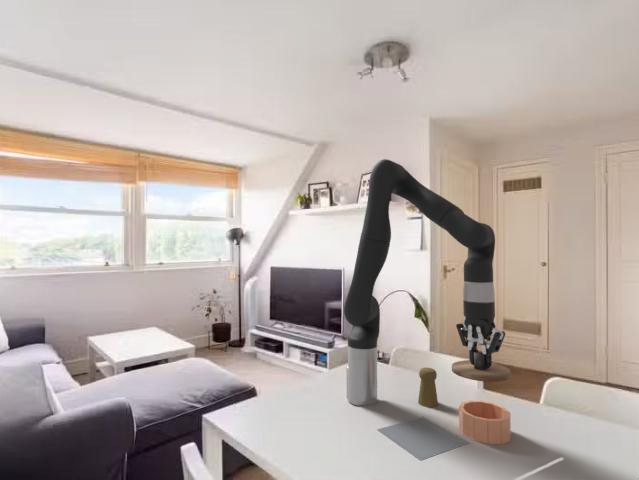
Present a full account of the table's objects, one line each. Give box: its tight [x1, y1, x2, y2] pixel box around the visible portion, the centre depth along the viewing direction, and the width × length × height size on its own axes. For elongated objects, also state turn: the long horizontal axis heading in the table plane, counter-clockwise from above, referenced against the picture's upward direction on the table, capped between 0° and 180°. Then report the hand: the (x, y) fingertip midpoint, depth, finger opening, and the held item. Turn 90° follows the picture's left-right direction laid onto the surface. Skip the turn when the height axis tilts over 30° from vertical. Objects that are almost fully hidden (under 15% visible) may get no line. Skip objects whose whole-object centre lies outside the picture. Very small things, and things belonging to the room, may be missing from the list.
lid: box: [451, 350, 512, 383], centre depth 96 cm, size 14×14×5 cm
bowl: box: [458, 399, 512, 445], centre depth 96 cm, size 12×12×6 cm
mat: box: [376, 416, 470, 462], centre depth 94 cm, size 16×16×1 cm
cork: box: [417, 367, 439, 408], centre depth 114 cm, size 6×6×11 cm
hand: (480, 365), depth 96 cm, fingers closed on lid, 3 cm apart
